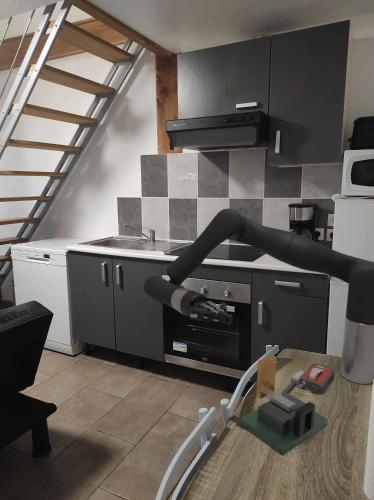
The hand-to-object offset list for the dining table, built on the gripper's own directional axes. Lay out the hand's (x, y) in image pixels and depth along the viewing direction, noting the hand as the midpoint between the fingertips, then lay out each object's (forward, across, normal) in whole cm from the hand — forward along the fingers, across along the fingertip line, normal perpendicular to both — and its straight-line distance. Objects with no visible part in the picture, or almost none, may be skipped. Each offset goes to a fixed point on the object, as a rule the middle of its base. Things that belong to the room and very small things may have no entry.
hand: (230, 320), depth 94 cm
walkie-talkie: (+12, +19, +20) cm, 30 cm away
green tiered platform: (+18, 0, +19) cm, 26 cm away
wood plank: (+16, 0, +15) cm, 22 cm away
